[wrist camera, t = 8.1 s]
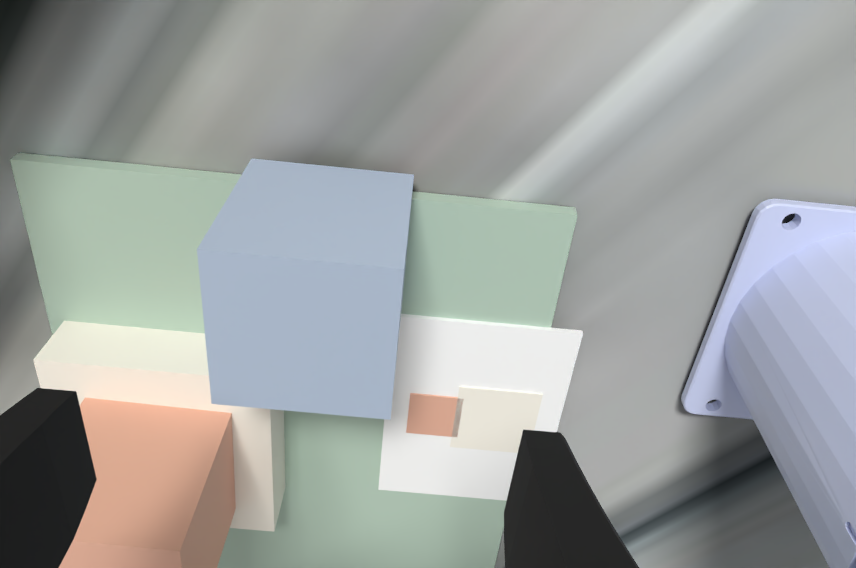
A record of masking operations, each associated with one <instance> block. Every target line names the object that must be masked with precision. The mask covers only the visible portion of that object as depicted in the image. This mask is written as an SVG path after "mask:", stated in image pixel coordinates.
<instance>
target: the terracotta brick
mask: <svg viewBox="0 0 856 568" xmlns="http://www.w3.org/2000/svg"><path fill="white" fill-rule="evenodd" d="M80 410H81V414H82V418H83V422H84V427H85V431H86V435H87V440H88V444H89V448H90V453H91V457H92V461H93V465H94V470H95V474H96V478H97V480H96V483H95V486H94V488H93V491H92V494H91V496H90V499H89V502H88V504H87V507H86V510H85V512H84V515H83V517H82V520H81V522H80V525H79V527H78V530H77V532H76V535H75V537H74V540H73V541H72V543H71V545H70V547H69V549H68V551H67V553H66V555H65V557H64V559H63V560H62V562H61V564H60V566H59V568H217V566H218V563H219V560H220V557H221V554H222V551H223V547H224V544H225V541H226V538H227V535H228V532H229V528H230V525H231V522H232V519H233V516H234V513H235V509H236V503H235V480H234V457H233V434H232V413H227V412H217V411H208V410H199V409H189V408H180V407H170V406H161V405H151V404H142V403H132V402H123V401H113V400H104V399H95V398H84V400H83V401H82V403H81V404H80Z"/></svg>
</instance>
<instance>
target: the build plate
mask: <svg viewBox="0 0 856 568" xmlns="http://www.w3.org/2000/svg"><path fill="white" fill-rule="evenodd" d="M10 163H11V167H12V171H13V175H14V179H15V183H16V187H17V191H18V196H19V200H20V204H21V208H22V212H23V216H24V220H25V224H26V229H27V233H28V237H29V241H30V245H31V249H32V253H33V257H34V262H35V266H36V270H37V274H38V278H39V282H40V286H41V290H42V295H43V299H44V303H45V307H46V311H47V315H48V319H49V324H50V328H51V332H52V335H53V334H54V333H55V332H56V330H57V329H58V328H59V327H60V325H61V324H62V323H63V321H74V322H85V323H96V324H107V325H118V326H129V327H140V328H151V329H162V330H173V331H183V332H194V333H205V329H204V319H203V308H202V298H201V287H200V277H199V266H198V256H197V248H198V246H199V245H200V243H201V241H202V240H203V238H204V236H205V235H206V233H207V232H208V230H209V228H210V227H211V225H212V223H213V222H214V220H215V218H216V217H217V215H218V213H219V212H220V210H221V208H222V207H223V205H224V203H225V202H226V200H227V198H228V197H229V195H230V193H231V192H232V190H233V188H234V187H235V185H236V183H237V182H238V180H239V178H240V177H241V174H231V173H221V172H211V171H201V170H190V169H180V168H170V167H160V166H150V165H140V164H130V163H119V162H109V161H99V160H89V159H79V158H69V157H58V156H48V155H38V154H28V153H18V154H16V155H15V156H14V157H12V158H11V159H10ZM576 220H577V212H576V209H575V207H566V206H556V205H546V204H535V203H525V202H515V201H505V200H495V199H485V198H475V197H464V196H454V195H444V194H434V193H424V192H414V191H412V202H411V213H410V224H409V235H408V246H407V257H406V267H405V278H404V289H403V300H402V311H401V314H410V315H420V316H431V317H442V318H453V319H463V320H474V321H485V322H495V323H506V324H517V325H528V326H538V327H549V328H551V325H552V321H553V317H554V313H555V308H556V304H557V300H558V296H559V292H560V287H561V283H562V279H563V275H564V270H565V266H566V262H567V258H568V253H569V249H570V245H571V241H572V237H573V232H574V228H575V224H576ZM383 428H384V419H376V418H365V417H353V416H342V415H331V414H320V413H308V412H297V411H286V410H284V438H285V491H284V495H283V499H282V503H281V507H280V511H279V515H278V519H277V523H276V527H275V531H274V532H272V531H260V530H249V529H237V528H229V532H228V535H227V538H226V541H225V544H224V547H223V551H222V554H221V557H220V560H219V563H218V566H217V568H494V566H495V562H496V558H497V554H498V550H499V545H500V541H501V537H502V533H503V528H504V510H505V505H506V501H505V500H493V499H481V498H470V497H458V496H446V495H435V494H423V493H411V492H400V491H388V490H378V487H379V476H380V464H381V452H382V440H383Z"/></svg>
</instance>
